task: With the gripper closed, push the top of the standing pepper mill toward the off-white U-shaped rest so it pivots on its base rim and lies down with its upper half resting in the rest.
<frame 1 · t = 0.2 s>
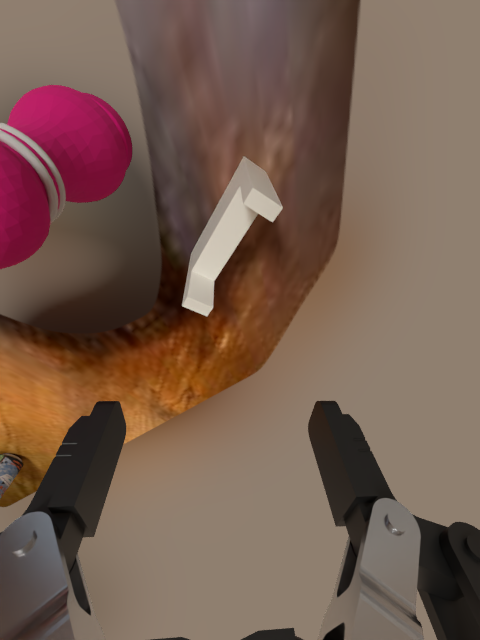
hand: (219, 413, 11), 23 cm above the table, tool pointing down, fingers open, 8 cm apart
beverage can: (9, 455, 64), on the table
pepper mill: (96, 139, 23), on the table
u rest: (225, 216, 28), on the table
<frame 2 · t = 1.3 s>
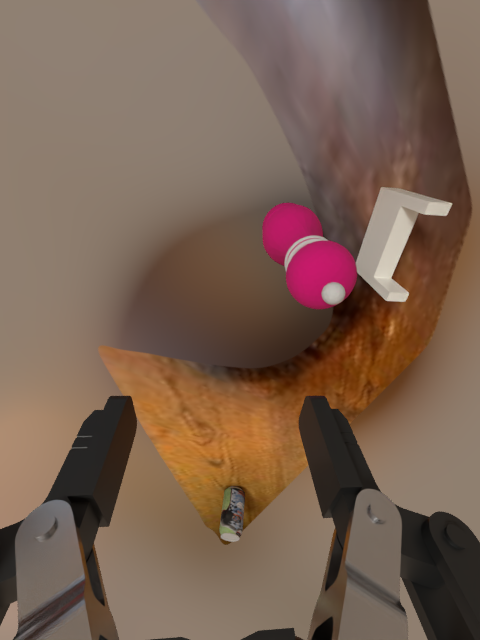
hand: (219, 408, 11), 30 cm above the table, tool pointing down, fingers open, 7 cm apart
beverage can: (232, 488, 79), on the table
pepper mill: (284, 226, 37), on the table
u rest: (374, 232, 38), on the table
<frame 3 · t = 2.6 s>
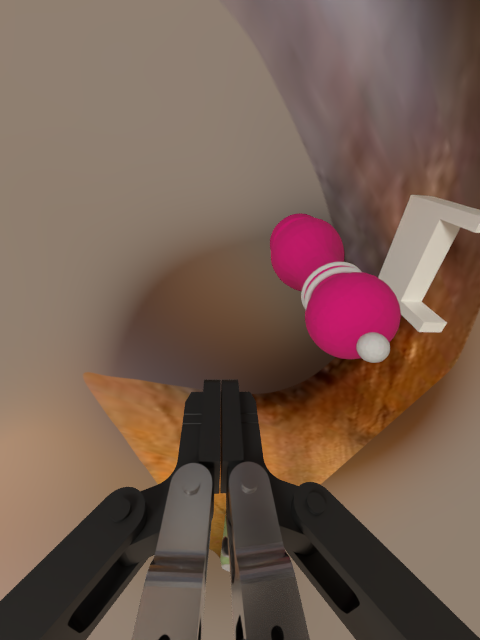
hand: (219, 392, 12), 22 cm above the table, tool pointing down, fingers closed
beverage can: (233, 511, 74), on the table
pepper mill: (295, 240, 31), on the table
u rest: (400, 246, 32), on the table
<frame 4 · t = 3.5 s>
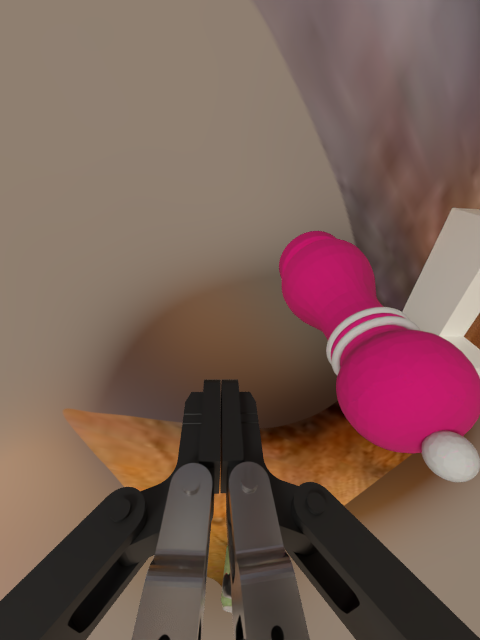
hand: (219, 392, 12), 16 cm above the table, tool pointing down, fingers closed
beverage can: (235, 542, 68), on the table
pepper mill: (309, 262, 26), on the table
u rest: (435, 267, 27), on the table
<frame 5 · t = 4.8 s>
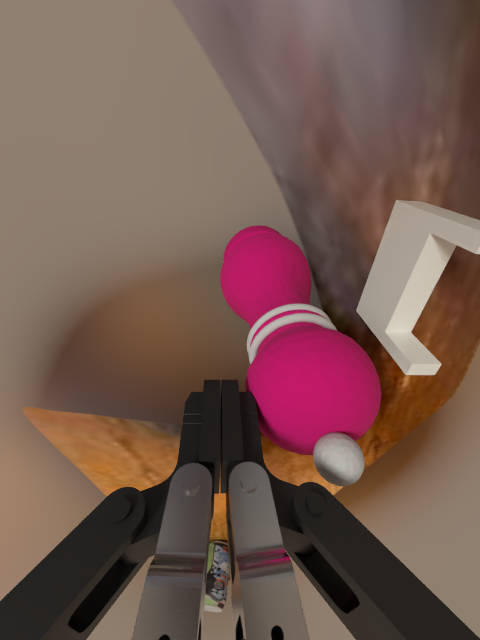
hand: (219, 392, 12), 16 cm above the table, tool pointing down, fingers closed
beverage can: (216, 541, 68), on the table
pepper mill: (255, 257, 26), on the table, touching gripper
u rest: (385, 262, 27), on the table
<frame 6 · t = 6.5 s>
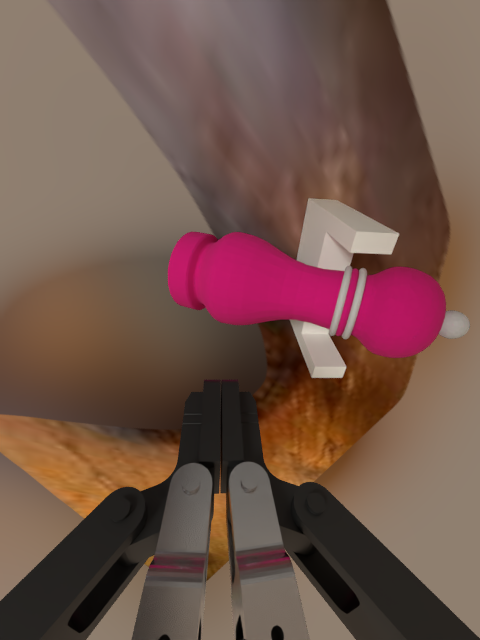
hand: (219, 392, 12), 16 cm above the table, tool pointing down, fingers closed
pepper mill: (187, 269, 23), point 3 cm above the table, touching u rest
u rest: (308, 262, 26), on the table
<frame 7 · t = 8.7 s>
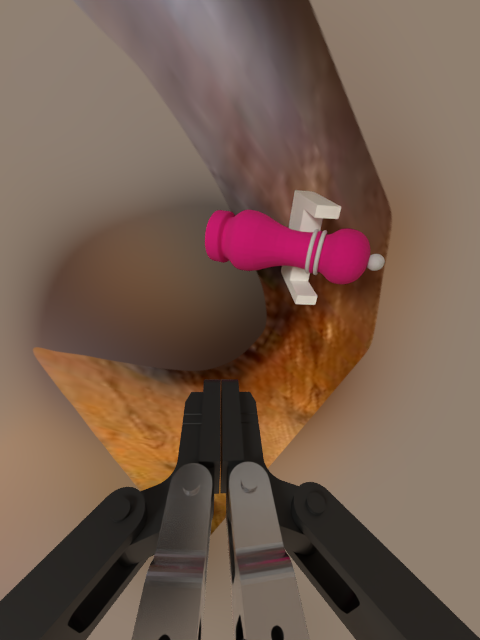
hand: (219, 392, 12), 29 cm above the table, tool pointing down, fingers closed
pepper mill: (214, 235, 35), point 3 cm above the table, touching u rest
u rest: (295, 235, 38), on the table
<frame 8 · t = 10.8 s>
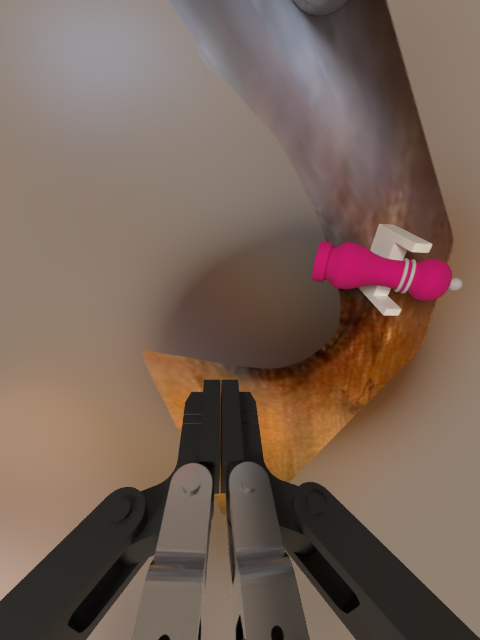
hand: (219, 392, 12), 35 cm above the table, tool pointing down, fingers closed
pepper mill: (315, 260, 43), point 3 cm above the table, touching u rest
u rest: (374, 257, 47), on the table
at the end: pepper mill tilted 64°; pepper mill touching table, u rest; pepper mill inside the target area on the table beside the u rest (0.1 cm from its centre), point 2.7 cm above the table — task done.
